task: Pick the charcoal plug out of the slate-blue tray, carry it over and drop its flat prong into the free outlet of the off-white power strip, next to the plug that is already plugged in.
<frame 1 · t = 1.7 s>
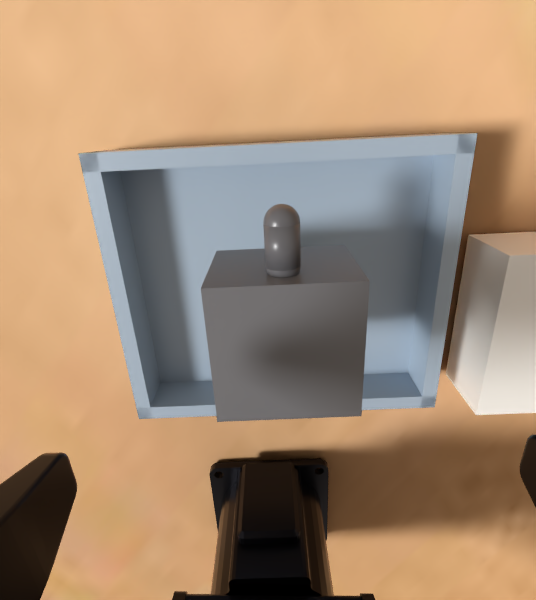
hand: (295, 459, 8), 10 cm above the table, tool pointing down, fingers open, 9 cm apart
plug: (280, 281, 16), point 1 cm above the table, touching plug tray
plug tray: (279, 276, 17), on the table
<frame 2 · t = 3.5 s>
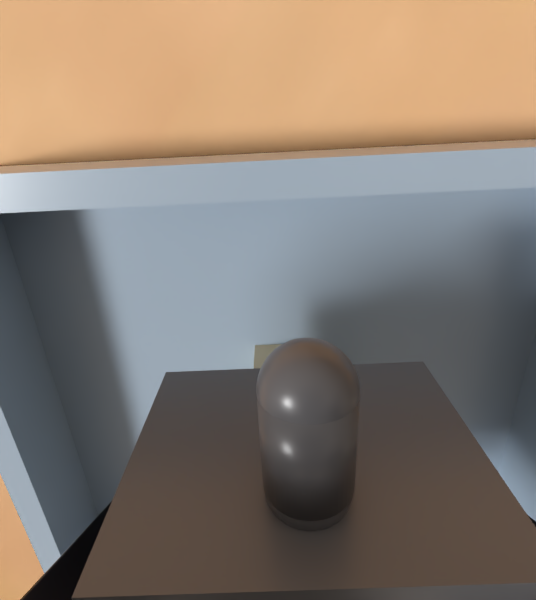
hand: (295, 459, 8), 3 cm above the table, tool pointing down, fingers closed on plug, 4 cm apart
plug: (289, 385, 10), point 1 cm above the table, touching gripper, plug tray
plug tray: (287, 371, 10), on the table
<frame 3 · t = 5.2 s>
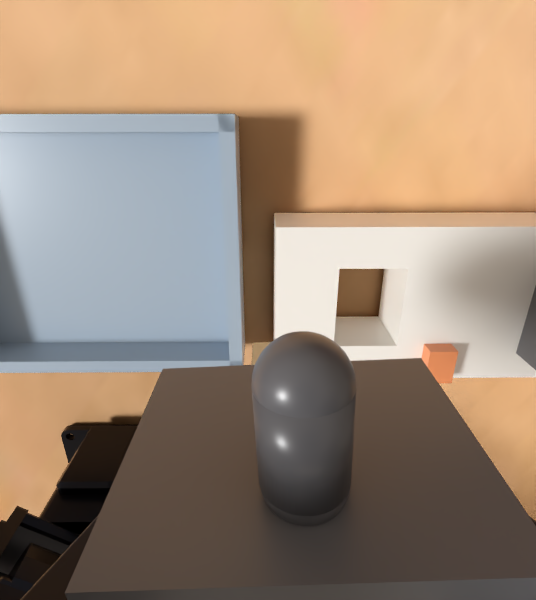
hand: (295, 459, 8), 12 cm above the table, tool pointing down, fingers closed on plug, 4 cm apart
plug: (287, 382, 10), point 10 cm above the table, touching gripper
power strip: (434, 283, 19), on the table
plug tray: (105, 245, 18), on the table
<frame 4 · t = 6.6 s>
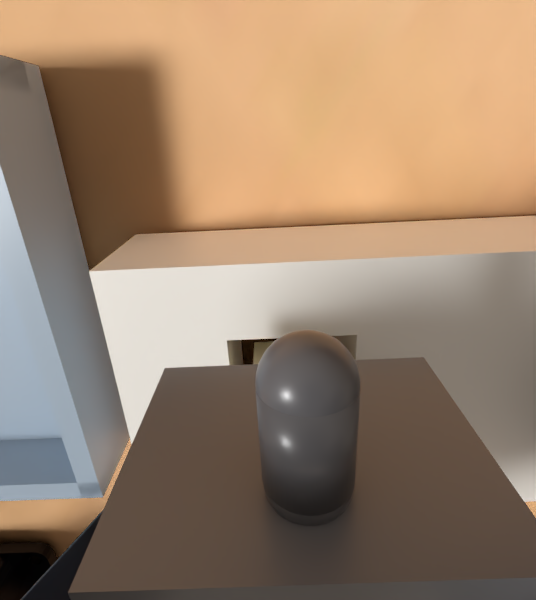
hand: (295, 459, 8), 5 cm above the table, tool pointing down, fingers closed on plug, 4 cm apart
plug: (288, 382, 10), point 2 cm above the table, touching gripper
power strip: (419, 335, 12), on the table
when the fingers open (4 cm above the table, at t = 7.4 s): plug drops 1 cm, resting on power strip.
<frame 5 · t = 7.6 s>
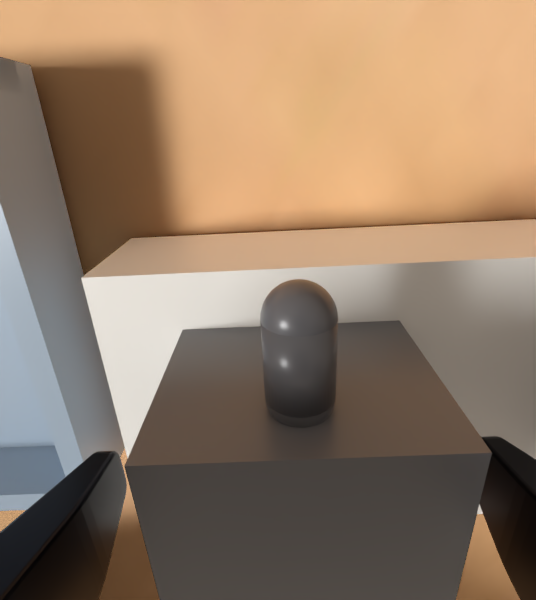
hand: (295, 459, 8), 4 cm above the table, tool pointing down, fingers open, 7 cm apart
plug: (287, 353, 11), resting on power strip
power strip: (421, 341, 11), on the table
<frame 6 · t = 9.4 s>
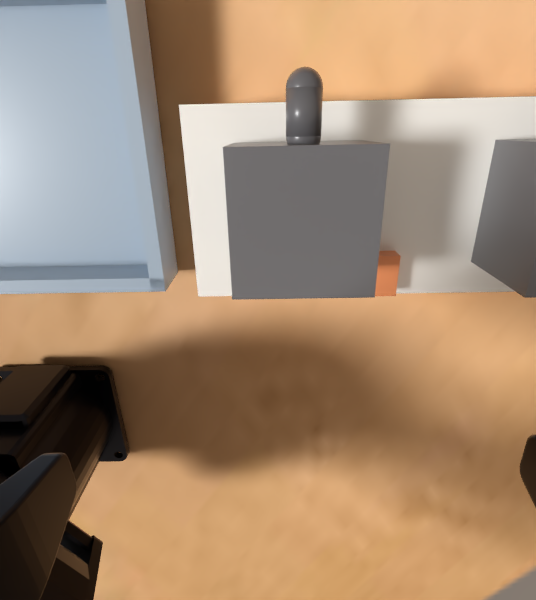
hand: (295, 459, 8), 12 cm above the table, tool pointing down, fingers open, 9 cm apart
plug: (293, 195, 17), resting on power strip
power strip: (384, 193, 17), on the table
plug tray: (10, 152, 16), on the table
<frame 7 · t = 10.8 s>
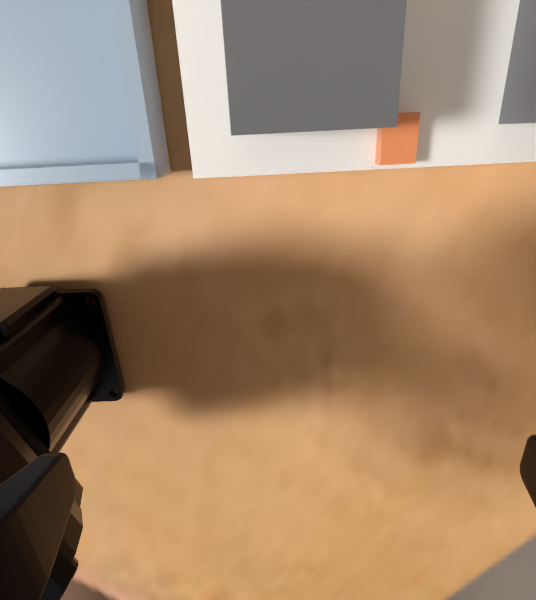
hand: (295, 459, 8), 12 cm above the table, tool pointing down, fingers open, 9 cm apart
plug: (296, 69, 15), resting on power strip
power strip: (396, 68, 15), on the table
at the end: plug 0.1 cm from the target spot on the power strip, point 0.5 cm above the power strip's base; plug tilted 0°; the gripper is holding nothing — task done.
